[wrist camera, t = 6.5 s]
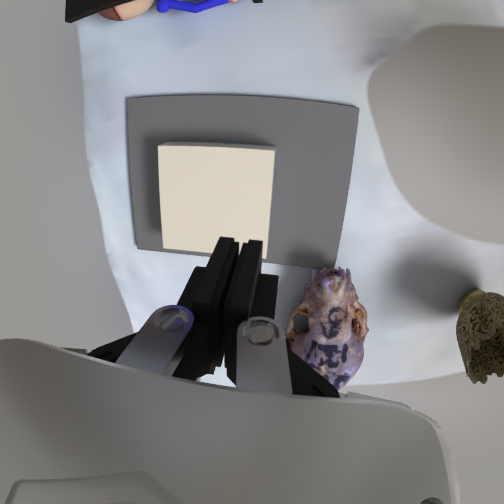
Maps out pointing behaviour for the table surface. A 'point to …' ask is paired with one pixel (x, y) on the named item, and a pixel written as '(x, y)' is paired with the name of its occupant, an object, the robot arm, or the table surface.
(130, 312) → the table surface
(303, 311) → the skull
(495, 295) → the cup
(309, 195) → the mat
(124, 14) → the figurine character
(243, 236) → the tile
